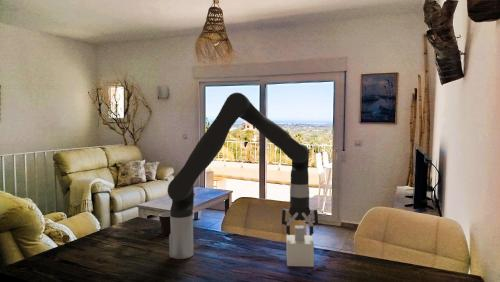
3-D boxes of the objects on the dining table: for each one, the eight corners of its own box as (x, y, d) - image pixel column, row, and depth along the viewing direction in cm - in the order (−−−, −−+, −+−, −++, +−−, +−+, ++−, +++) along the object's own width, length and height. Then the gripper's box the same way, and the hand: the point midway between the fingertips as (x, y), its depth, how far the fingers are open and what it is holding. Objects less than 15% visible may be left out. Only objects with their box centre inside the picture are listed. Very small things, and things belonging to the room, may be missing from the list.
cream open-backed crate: (287, 265, 130) (286, 230, 130) (286, 255, 140) (286, 222, 140) (313, 266, 129) (313, 231, 129) (311, 256, 140) (311, 223, 139)
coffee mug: (172, 237, 165) (171, 217, 164) (156, 236, 167) (155, 216, 166) (181, 229, 176) (181, 210, 176) (166, 228, 178) (166, 210, 177)
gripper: (281, 196, 130) (281, 237, 131) (318, 196, 129) (318, 238, 130) (281, 192, 138) (281, 231, 139) (316, 192, 137) (316, 232, 137)
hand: (299, 234), depth 134 cm, fingers open, 8 cm apart
